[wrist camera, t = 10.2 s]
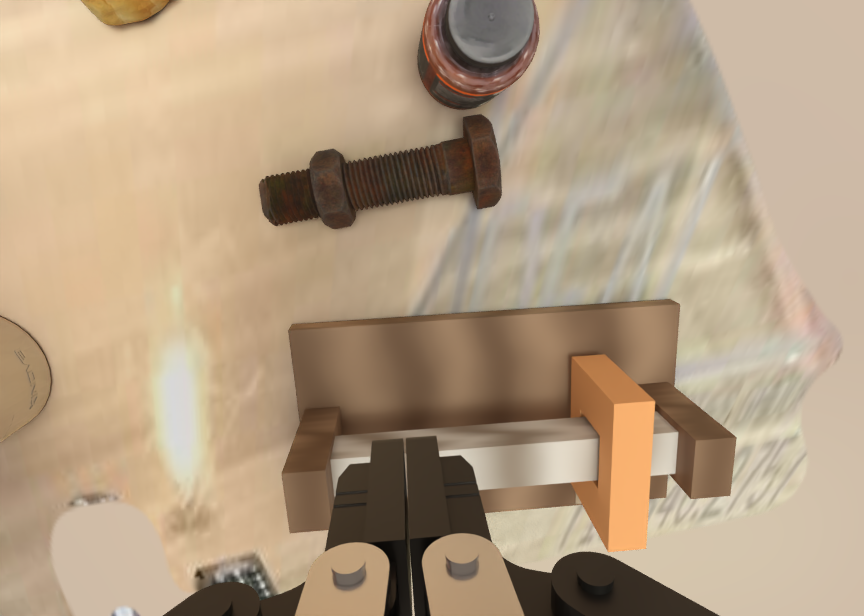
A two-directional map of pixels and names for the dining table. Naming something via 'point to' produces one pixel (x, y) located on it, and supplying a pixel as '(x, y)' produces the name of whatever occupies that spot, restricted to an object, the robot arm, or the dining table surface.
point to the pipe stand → (491, 402)
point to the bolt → (386, 179)
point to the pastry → (124, 10)
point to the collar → (615, 450)
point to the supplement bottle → (475, 48)
